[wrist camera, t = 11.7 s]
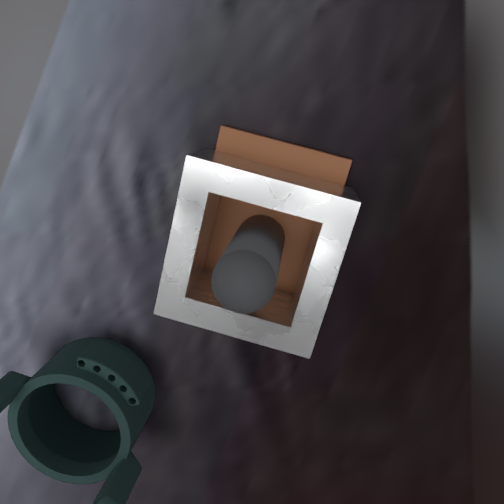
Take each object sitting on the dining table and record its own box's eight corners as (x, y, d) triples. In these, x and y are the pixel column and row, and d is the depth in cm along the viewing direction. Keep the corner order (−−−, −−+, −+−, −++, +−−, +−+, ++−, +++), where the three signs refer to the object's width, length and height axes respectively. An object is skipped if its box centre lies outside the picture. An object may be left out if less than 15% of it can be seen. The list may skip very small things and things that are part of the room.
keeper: (184, 300, 32) (128, 383, 22) (223, 125, 29) (177, 130, 19) (297, 332, 32) (291, 430, 22) (350, 159, 28) (373, 182, 18)
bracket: (164, 438, 36) (120, 538, 27) (50, 431, 37) (-27, 525, 28) (156, 330, 33) (105, 402, 25) (34, 325, 34) (-56, 394, 26)
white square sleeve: (207, 148, 28) (186, 155, 24) (352, 187, 28) (361, 202, 23) (177, 283, 31) (153, 314, 26) (309, 320, 31) (309, 358, 26)
